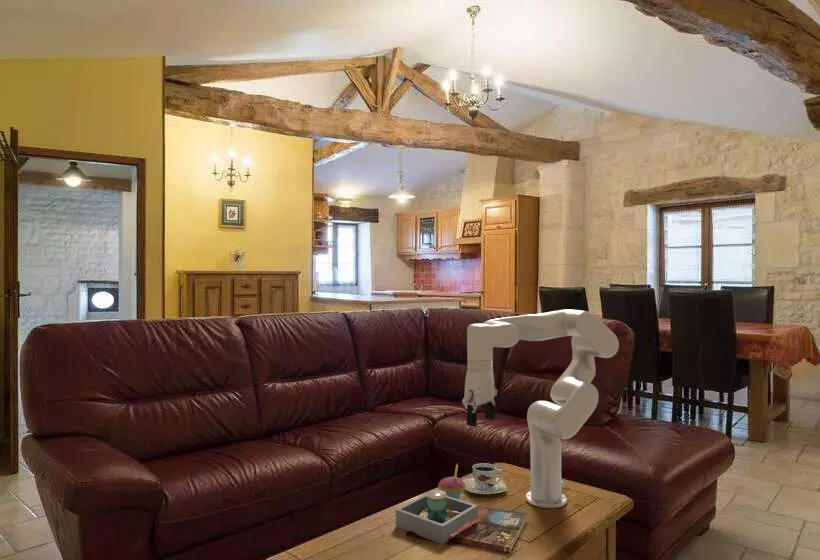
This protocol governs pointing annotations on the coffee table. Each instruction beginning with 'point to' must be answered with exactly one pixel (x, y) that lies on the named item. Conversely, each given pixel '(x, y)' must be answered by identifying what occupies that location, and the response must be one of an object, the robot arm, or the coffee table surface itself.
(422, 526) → the bin
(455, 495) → the cupcake
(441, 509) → the tea tin
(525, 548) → the coffee table surface
